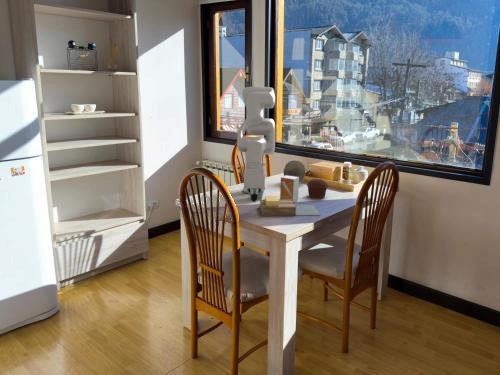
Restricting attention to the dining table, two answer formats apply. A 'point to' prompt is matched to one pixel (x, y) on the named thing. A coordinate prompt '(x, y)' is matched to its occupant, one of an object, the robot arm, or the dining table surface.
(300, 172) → the cantaloupe
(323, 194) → the muffin
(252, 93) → the robot arm
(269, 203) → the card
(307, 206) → the mat
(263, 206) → the deck
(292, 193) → the small box
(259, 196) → the disposable coffee cup
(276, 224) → the dining table surface
